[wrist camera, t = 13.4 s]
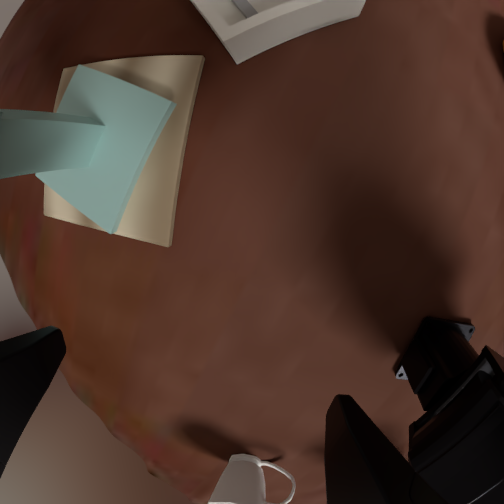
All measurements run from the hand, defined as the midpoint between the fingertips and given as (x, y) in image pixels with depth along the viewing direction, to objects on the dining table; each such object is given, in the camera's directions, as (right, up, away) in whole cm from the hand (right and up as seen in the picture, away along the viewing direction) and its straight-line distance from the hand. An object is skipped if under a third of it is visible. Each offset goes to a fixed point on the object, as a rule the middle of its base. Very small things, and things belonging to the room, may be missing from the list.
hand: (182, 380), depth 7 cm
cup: (+3, -23, +21) cm, 31 cm away
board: (-9, +12, +11) cm, 19 cm away
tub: (+3, +23, +6) cm, 24 cm away
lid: (-9, +12, +11) cm, 19 cm away
